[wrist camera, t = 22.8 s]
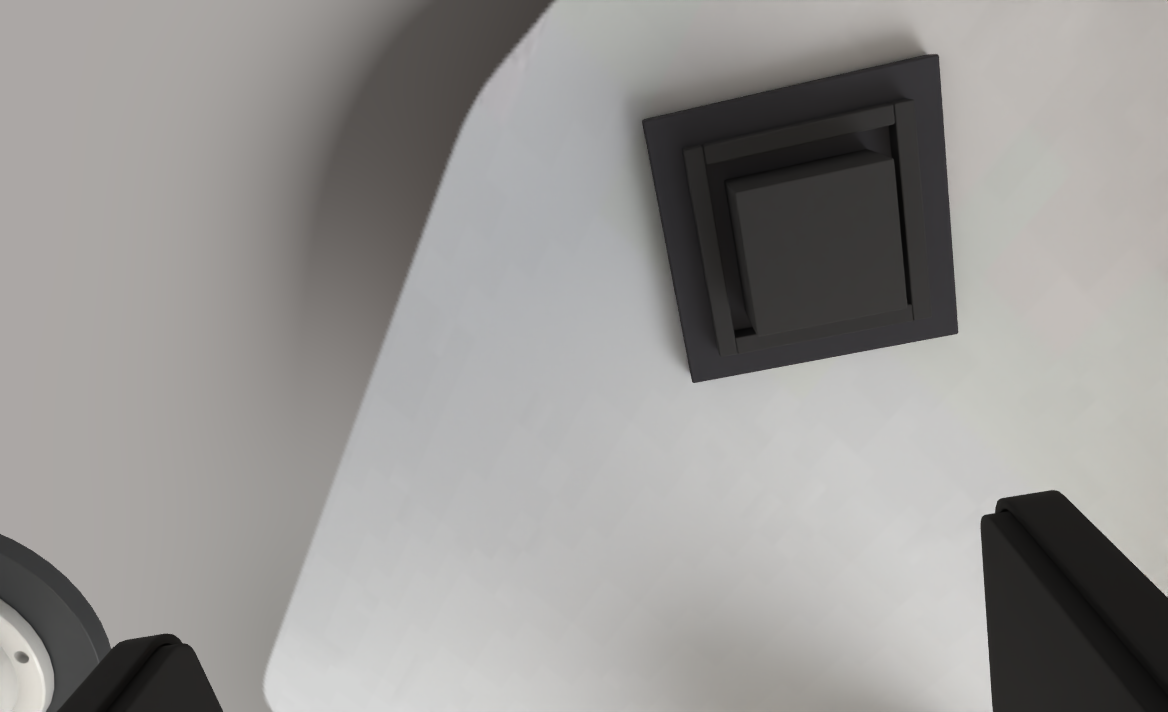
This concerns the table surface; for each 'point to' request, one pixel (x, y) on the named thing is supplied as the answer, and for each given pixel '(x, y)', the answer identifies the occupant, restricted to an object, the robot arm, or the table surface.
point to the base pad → (787, 137)
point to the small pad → (818, 241)
